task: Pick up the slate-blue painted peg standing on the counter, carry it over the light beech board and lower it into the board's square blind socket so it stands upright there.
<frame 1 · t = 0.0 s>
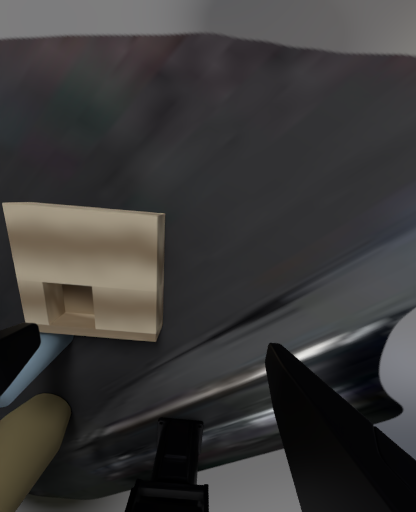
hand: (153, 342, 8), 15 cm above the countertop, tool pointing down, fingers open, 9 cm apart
squeeze bottle: (52, 406, 29), on the countertop
peg: (59, 333, 25), on the countertop
board: (87, 293, 24), on the countertop
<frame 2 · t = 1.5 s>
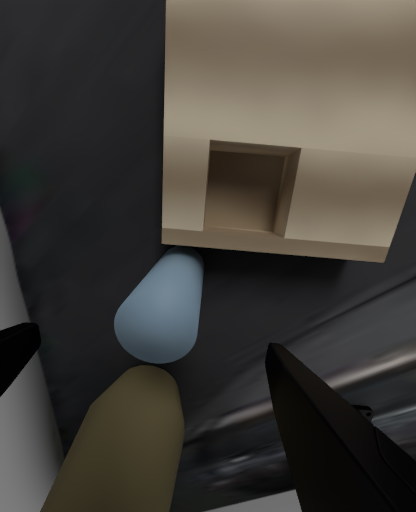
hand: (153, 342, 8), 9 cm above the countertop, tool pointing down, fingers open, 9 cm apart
squeeze bottle: (149, 385, 20), on the countertop
peg: (182, 266, 16), on the countertop
board: (241, 193, 14), on the countertop
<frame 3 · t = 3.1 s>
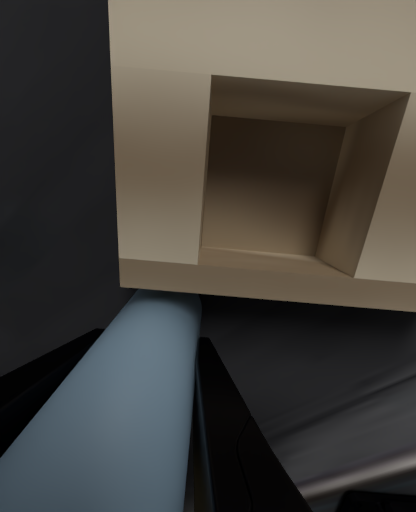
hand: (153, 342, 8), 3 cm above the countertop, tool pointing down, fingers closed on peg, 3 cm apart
peg: (167, 308, 10), on the countertop, touching gripper
board: (264, 192, 9), on the countertop
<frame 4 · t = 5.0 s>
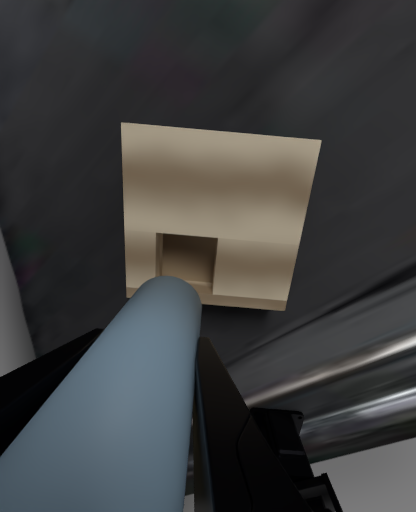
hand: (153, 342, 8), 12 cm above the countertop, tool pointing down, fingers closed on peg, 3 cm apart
peg: (167, 307, 10), point 10 cm above the countertop, touching gripper
board: (189, 255, 20), on the countertop
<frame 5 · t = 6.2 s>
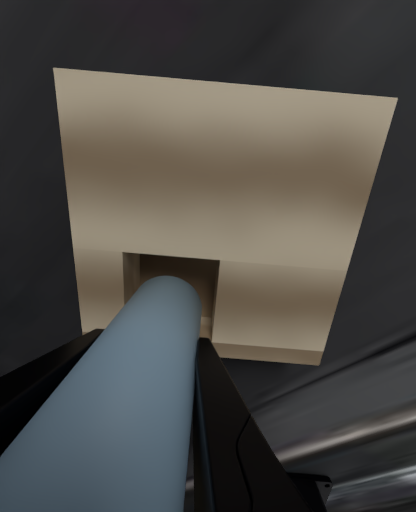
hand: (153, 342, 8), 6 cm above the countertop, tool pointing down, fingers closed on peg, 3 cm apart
peg: (167, 307, 10), point 4 cm above the countertop, touching gripper
board: (178, 278, 14), on the countertop
when the fingers open (4 cm above the countertop, at t = 7.0 s): peg drops 1 cm, resting on board.
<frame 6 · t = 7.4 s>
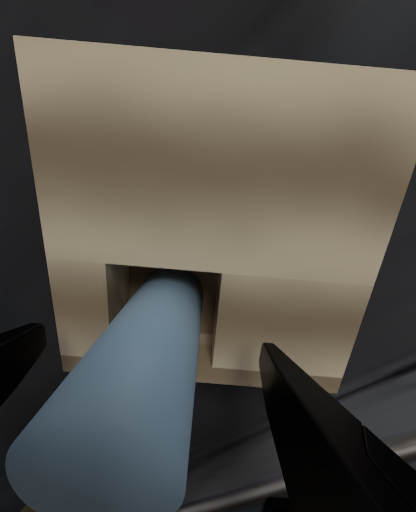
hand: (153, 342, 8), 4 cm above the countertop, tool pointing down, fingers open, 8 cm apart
peg: (173, 294, 12), point 1 cm above the countertop, touching board
board: (174, 290, 12), on the countertop
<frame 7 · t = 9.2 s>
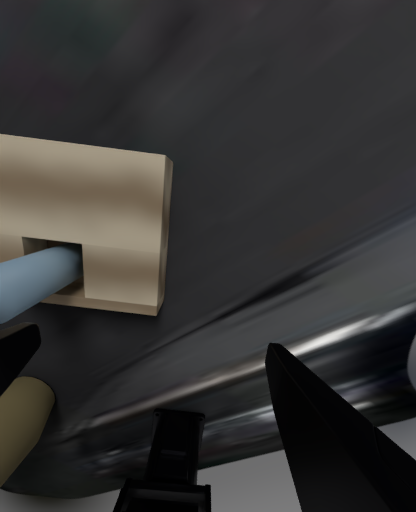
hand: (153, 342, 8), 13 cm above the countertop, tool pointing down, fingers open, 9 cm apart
squeeze bottle: (34, 391, 25), on the countertop
peg: (74, 259, 20), point 1 cm above the countertop, touching board
board: (77, 258, 20), on the countertop
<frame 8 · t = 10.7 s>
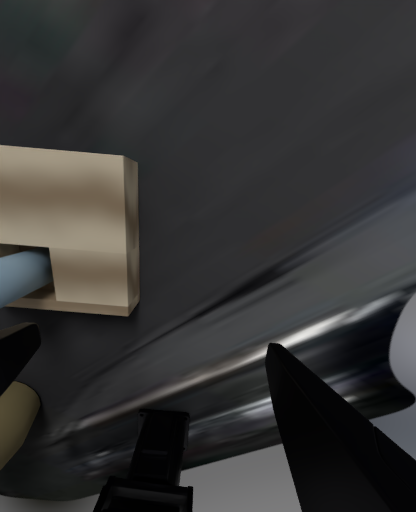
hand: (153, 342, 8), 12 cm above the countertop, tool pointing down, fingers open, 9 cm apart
squeeze bottle: (20, 395, 26), on the countertop
peg: (47, 263, 20), point 1 cm above the countertop, touching board
board: (50, 262, 20), on the countertop
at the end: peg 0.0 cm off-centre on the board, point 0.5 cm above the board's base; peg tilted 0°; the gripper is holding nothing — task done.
